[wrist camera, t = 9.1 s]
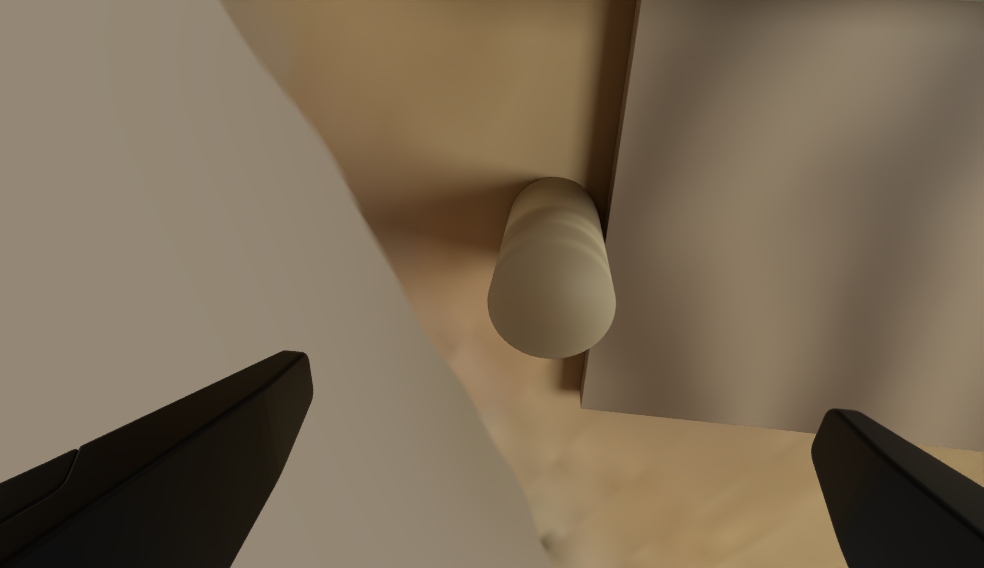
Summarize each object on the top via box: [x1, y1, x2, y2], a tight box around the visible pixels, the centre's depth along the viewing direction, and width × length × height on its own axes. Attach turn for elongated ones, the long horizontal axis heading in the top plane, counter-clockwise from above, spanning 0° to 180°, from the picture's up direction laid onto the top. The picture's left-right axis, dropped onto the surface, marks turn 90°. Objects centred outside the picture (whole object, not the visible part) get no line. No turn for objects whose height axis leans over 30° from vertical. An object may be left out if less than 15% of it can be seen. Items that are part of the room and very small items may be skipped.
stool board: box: [580, 0, 984, 452], centre depth 14 cm, size 18×22×1 cm
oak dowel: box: [488, 177, 616, 359], centre depth 15 cm, size 3×3×6 cm
